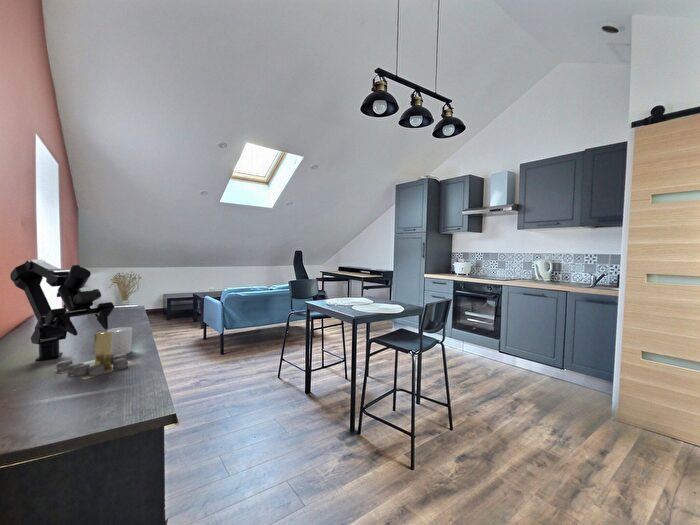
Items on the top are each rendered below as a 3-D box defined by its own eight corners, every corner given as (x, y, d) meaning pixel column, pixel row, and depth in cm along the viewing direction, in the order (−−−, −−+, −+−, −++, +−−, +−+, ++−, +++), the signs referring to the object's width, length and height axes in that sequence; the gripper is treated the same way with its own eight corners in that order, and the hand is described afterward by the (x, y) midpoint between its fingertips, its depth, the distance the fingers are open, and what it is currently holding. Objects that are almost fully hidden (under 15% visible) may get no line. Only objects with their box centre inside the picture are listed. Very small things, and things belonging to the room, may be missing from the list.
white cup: (119, 358, 122) (119, 332, 122) (102, 357, 124) (101, 331, 123) (137, 352, 130) (137, 327, 130) (120, 351, 131) (120, 326, 131)
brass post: (96, 367, 110) (95, 332, 110) (112, 365, 112) (111, 330, 112) (94, 371, 106) (93, 335, 106) (110, 369, 109) (109, 333, 108)
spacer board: (53, 372, 107) (53, 363, 107) (106, 358, 122) (106, 349, 122) (86, 382, 100) (86, 371, 100) (139, 365, 114) (138, 356, 114)
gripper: (48, 284, 105) (68, 321, 101) (110, 280, 122) (130, 311, 118) (36, 307, 108) (55, 344, 104) (98, 300, 125) (117, 331, 121)
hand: (92, 331), depth 112 cm, fingers open, 9 cm apart
